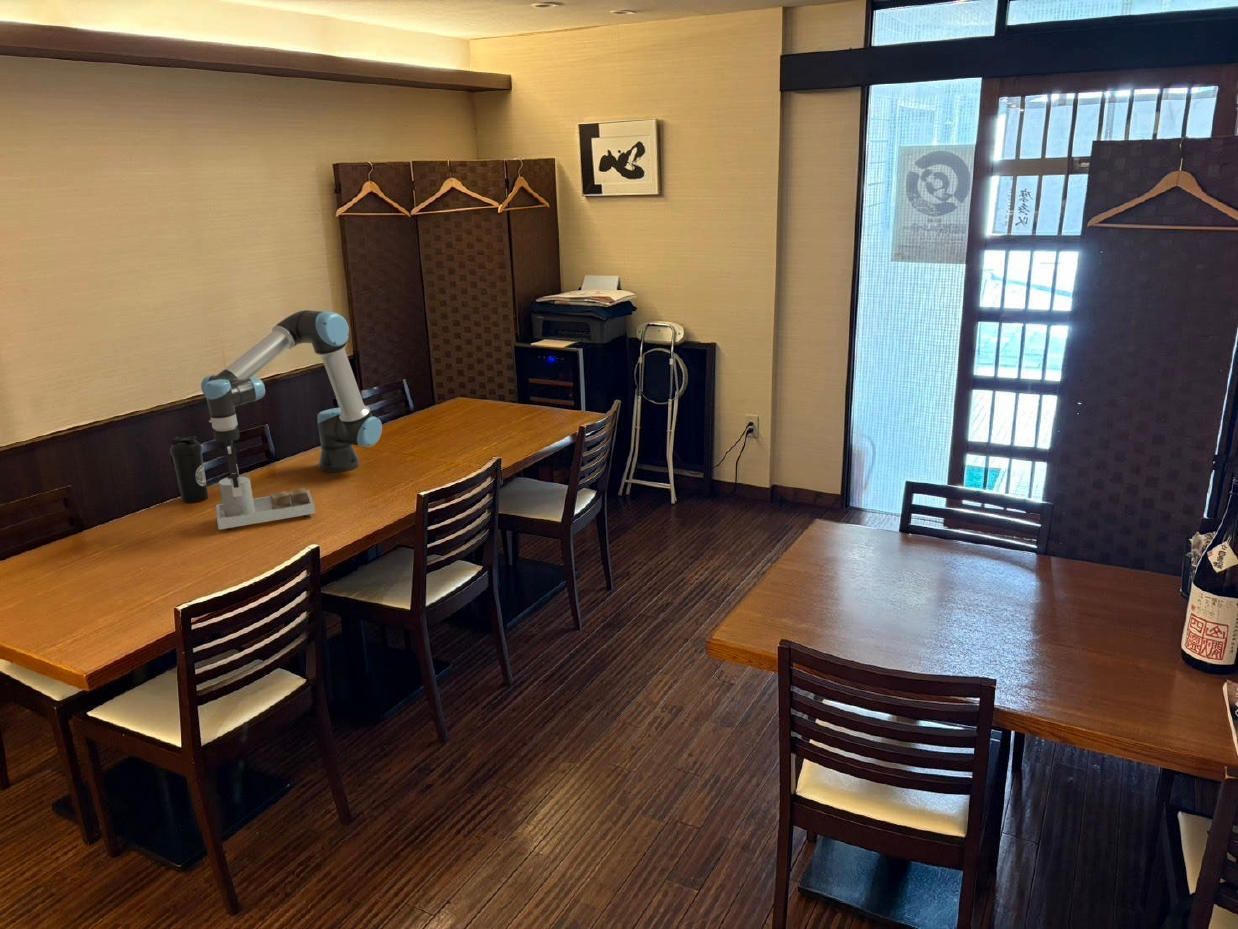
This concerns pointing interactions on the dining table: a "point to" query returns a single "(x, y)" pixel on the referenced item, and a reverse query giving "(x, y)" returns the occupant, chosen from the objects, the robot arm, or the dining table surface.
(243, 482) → the grey cylinder
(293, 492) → the walnut block
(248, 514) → the tray
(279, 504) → the walnut block
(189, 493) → the water bottle
